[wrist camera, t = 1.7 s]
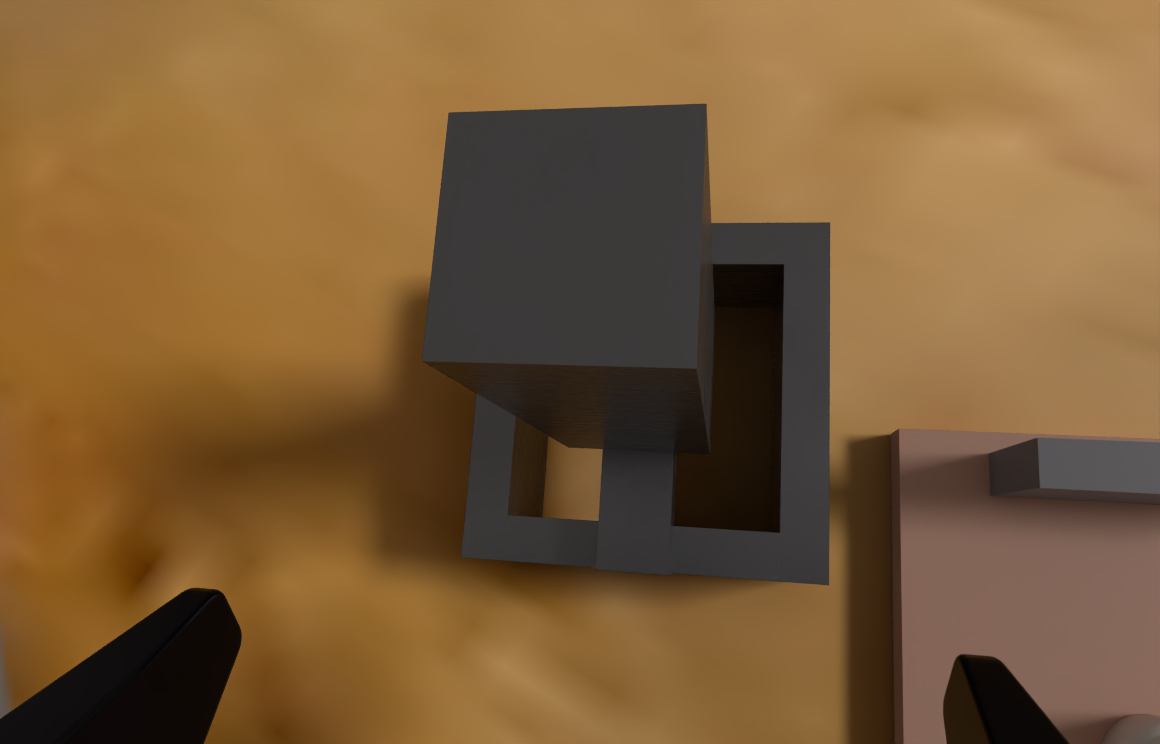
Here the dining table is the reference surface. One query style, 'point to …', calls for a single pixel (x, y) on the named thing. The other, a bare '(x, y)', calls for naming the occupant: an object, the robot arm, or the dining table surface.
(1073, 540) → the plate
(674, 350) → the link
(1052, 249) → the dining table surface
